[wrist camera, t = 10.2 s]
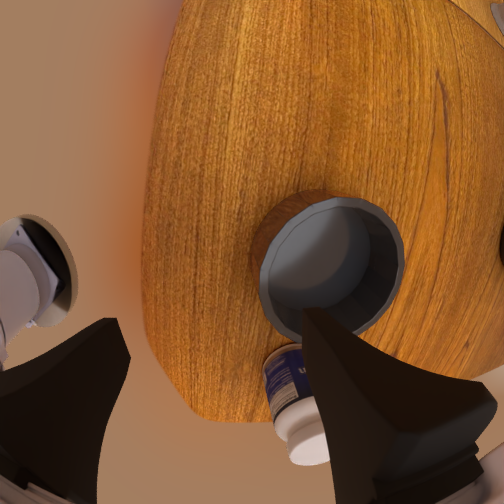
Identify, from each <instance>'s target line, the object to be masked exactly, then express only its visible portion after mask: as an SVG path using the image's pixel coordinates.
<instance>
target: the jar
mask: <svg viewBox="0 0 504 504" xmlns="http://www.w3.org/2000/svg"><path fill="white" fill-rule="evenodd" d="M500 253H501V259H502V262H503V264H504V227H503V232H502V237H501V246H500Z"/></svg>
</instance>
